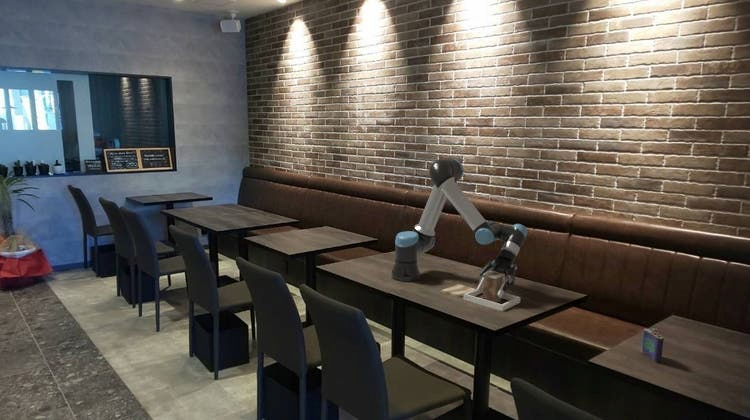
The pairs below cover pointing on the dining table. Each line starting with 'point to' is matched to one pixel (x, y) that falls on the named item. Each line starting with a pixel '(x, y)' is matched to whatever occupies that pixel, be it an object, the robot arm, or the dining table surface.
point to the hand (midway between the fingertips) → (488, 293)
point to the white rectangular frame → (501, 307)
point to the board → (457, 290)
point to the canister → (492, 286)
